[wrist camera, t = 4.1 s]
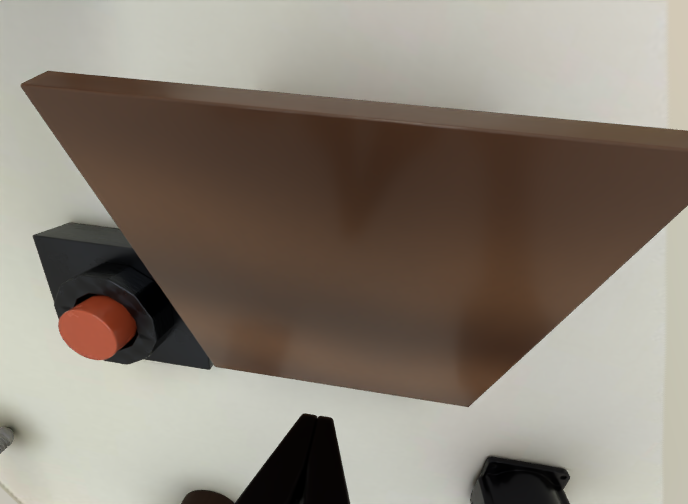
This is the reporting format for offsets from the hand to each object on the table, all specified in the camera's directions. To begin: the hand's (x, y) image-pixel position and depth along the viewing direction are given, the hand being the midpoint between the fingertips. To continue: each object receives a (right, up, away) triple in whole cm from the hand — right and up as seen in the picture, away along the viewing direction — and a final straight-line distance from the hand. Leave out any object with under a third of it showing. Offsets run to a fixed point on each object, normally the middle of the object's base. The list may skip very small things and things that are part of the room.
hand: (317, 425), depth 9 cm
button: (-14, 0, +12) cm, 18 cm away
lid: (+1, +3, +3) cm, 5 cm away
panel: (-14, +2, +15) cm, 21 cm away
